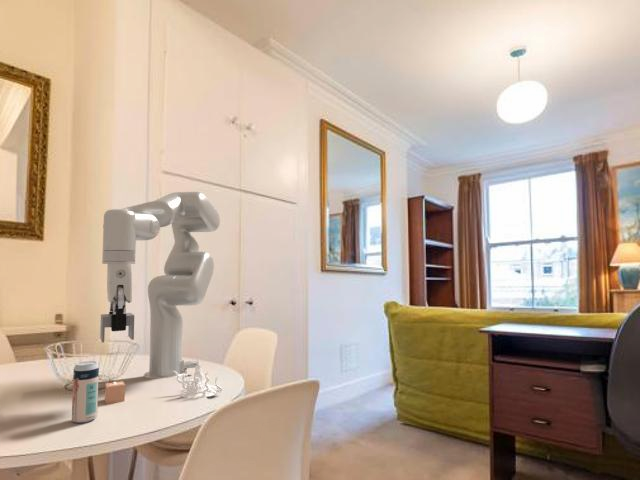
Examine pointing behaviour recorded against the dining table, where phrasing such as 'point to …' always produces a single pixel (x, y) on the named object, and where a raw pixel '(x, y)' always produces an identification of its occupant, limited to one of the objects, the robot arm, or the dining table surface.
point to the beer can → (85, 392)
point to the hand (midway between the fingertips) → (117, 328)
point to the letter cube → (114, 392)
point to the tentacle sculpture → (198, 384)
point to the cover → (106, 322)
